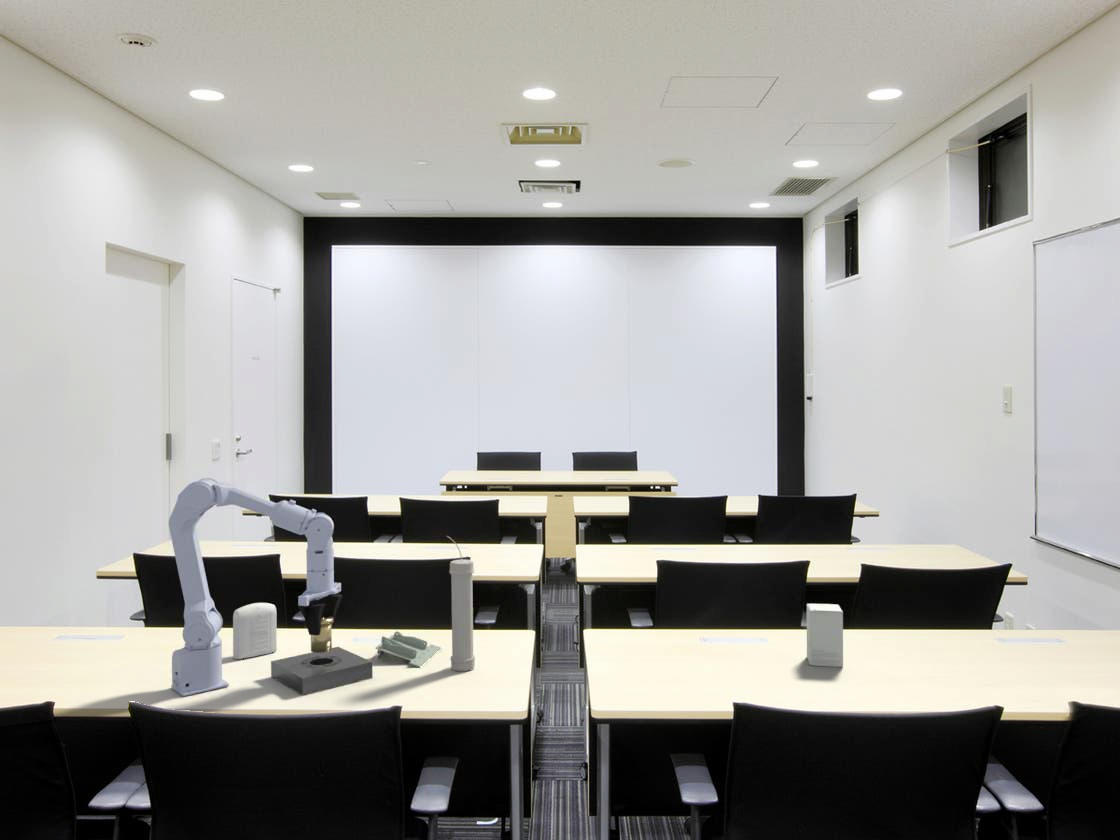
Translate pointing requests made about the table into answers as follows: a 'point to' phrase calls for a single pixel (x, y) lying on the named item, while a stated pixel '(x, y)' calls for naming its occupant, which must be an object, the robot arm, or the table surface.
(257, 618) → the white rounded block
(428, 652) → the metal bracket
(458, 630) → the pipe
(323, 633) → the round door knob
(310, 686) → the grey flat block
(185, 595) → the robot arm
